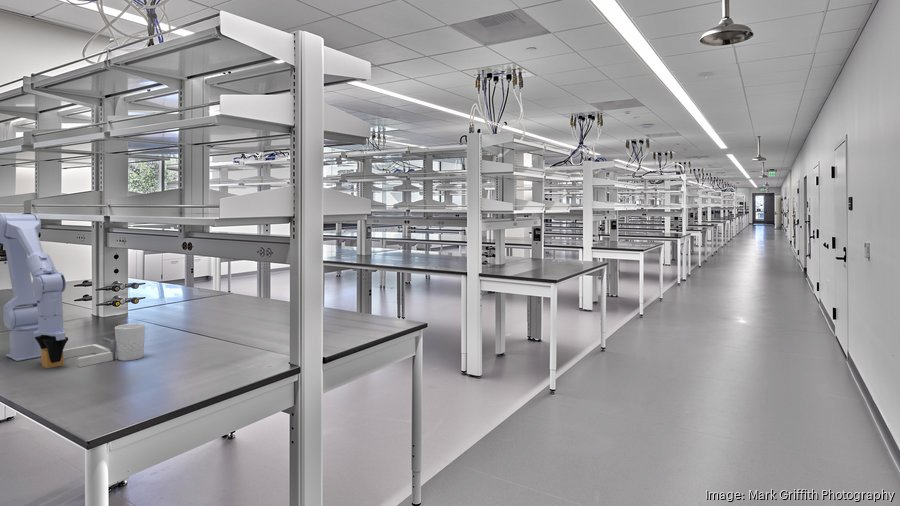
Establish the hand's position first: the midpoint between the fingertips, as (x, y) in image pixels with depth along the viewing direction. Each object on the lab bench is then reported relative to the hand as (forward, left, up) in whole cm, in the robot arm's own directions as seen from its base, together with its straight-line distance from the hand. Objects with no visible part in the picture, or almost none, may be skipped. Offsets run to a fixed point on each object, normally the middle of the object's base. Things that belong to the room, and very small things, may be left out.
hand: (52, 360), depth 147 cm
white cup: (+10, +17, -2) cm, 20 cm away
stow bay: (+1, +8, -1) cm, 8 cm away
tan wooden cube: (0, 0, -2) cm, 2 cm away
